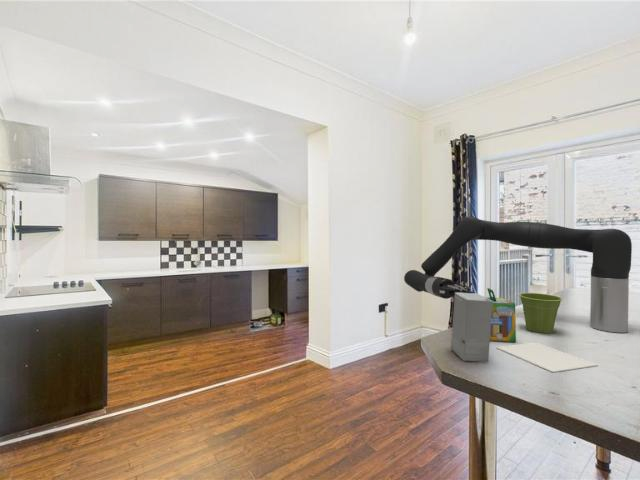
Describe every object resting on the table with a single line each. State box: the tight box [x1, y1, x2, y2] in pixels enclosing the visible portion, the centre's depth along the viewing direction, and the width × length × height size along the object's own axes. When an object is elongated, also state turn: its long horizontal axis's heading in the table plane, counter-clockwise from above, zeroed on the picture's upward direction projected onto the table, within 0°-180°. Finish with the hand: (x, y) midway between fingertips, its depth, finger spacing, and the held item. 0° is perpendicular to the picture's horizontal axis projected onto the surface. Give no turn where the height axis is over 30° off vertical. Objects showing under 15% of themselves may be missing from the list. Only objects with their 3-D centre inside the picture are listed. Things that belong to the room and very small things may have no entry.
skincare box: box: [450, 292, 493, 363], centre depth 81 cm, size 8×7×16 cm
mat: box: [495, 342, 599, 374], centre depth 80 cm, size 16×14×1 cm
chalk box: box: [485, 287, 517, 343], centre depth 96 cm, size 9×9×15 cm
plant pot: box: [518, 292, 563, 334], centre depth 102 cm, size 12×12×11 cm
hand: (472, 295), depth 104 cm, fingers closed
